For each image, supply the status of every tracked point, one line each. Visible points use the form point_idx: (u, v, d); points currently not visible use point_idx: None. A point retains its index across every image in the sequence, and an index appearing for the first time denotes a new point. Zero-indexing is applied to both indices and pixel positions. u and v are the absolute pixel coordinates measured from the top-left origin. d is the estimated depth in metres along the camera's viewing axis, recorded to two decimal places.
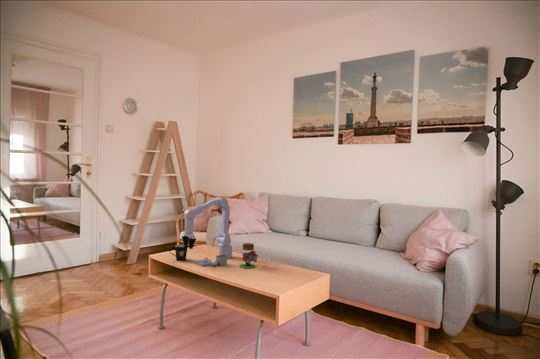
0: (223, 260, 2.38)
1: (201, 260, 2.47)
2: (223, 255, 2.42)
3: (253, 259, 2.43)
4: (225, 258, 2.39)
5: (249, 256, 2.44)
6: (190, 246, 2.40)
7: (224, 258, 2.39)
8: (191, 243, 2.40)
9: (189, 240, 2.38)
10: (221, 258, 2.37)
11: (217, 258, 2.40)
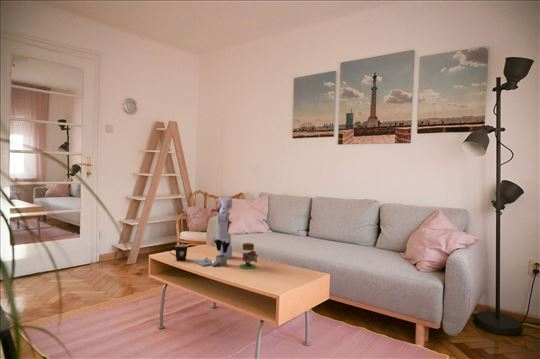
0: (223, 260, 2.38)
1: (201, 260, 2.47)
2: (223, 255, 2.42)
3: (253, 259, 2.43)
4: (225, 258, 2.39)
5: (249, 256, 2.44)
6: (224, 250, 2.37)
7: (224, 258, 2.39)
8: (225, 247, 2.37)
9: (223, 244, 2.34)
10: (221, 258, 2.37)
11: (217, 258, 2.40)
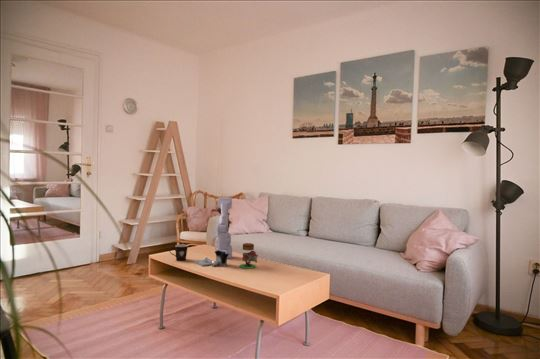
0: None
1: (201, 260, 2.47)
2: None
3: (253, 259, 2.43)
4: None
5: (249, 256, 2.44)
6: (223, 261, 2.37)
7: None
8: (224, 258, 2.38)
9: (222, 255, 2.35)
10: (221, 258, 2.37)
11: (217, 258, 2.40)
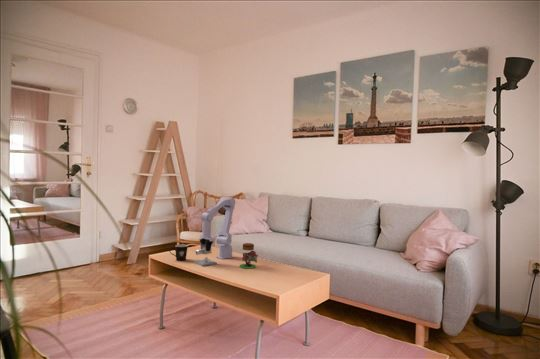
0: None
1: (201, 260, 2.47)
2: None
3: (253, 259, 2.43)
4: None
5: (249, 256, 2.44)
6: (207, 248, 2.40)
7: None
8: (208, 245, 2.40)
9: (206, 242, 2.38)
10: (205, 246, 2.40)
11: (201, 247, 2.42)
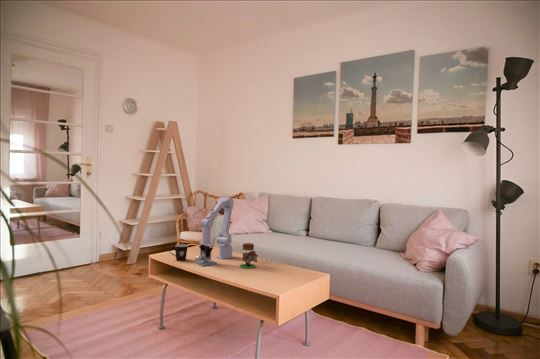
0: None
1: (201, 260, 2.47)
2: None
3: (253, 259, 2.43)
4: None
5: (249, 256, 2.44)
6: (207, 255, 2.40)
7: None
8: (208, 252, 2.40)
9: (206, 249, 2.38)
10: (205, 253, 2.40)
11: (201, 253, 2.42)
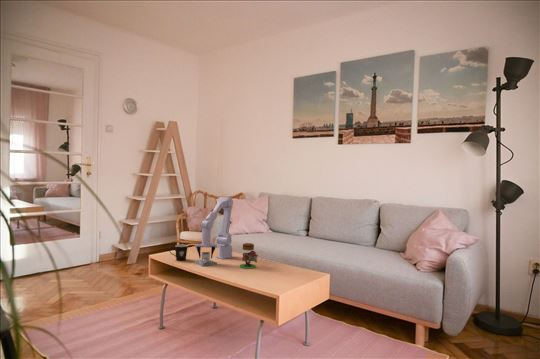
0: (209, 256, 2.44)
1: (201, 260, 2.47)
2: (204, 252, 2.45)
3: (253, 259, 2.43)
4: (209, 254, 2.45)
5: (249, 256, 2.44)
6: None
7: (209, 254, 2.44)
8: None
9: (214, 249, 2.42)
10: (209, 254, 2.42)
11: (204, 256, 2.41)
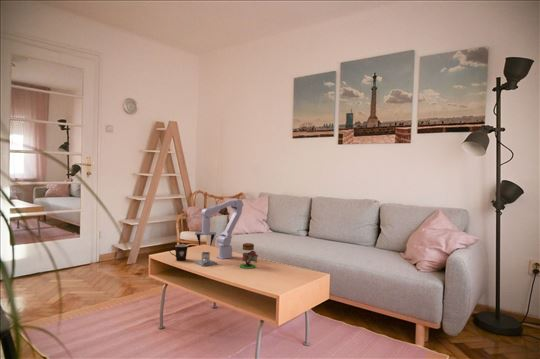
0: (209, 256, 2.44)
1: (201, 260, 2.47)
2: (204, 252, 2.45)
3: (253, 259, 2.43)
4: (209, 254, 2.45)
5: (249, 256, 2.44)
6: (211, 243, 2.52)
7: (209, 254, 2.44)
8: None
9: None
10: (209, 254, 2.42)
11: (204, 256, 2.41)
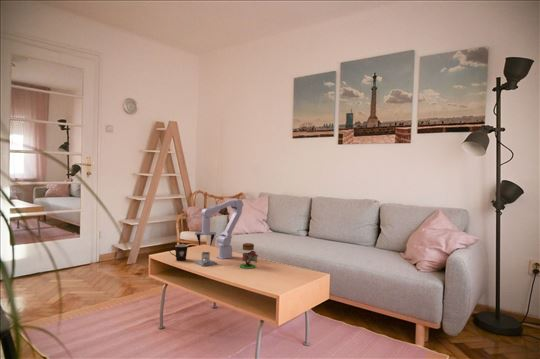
0: (209, 256, 2.44)
1: (201, 260, 2.47)
2: (204, 252, 2.45)
3: (253, 259, 2.43)
4: (209, 254, 2.45)
5: (249, 256, 2.44)
6: (211, 243, 2.52)
7: (209, 254, 2.44)
8: None
9: None
10: (209, 254, 2.42)
11: (204, 256, 2.41)
